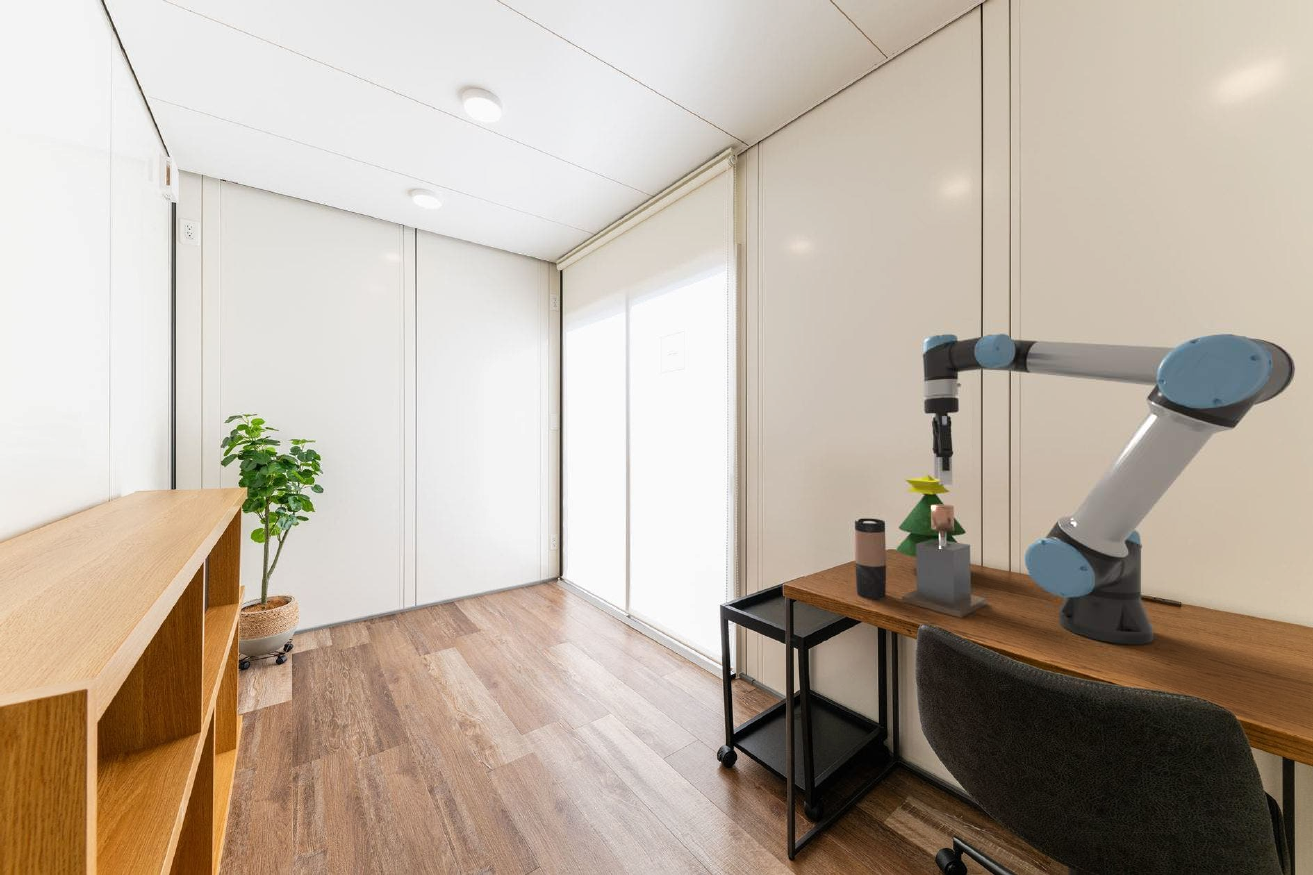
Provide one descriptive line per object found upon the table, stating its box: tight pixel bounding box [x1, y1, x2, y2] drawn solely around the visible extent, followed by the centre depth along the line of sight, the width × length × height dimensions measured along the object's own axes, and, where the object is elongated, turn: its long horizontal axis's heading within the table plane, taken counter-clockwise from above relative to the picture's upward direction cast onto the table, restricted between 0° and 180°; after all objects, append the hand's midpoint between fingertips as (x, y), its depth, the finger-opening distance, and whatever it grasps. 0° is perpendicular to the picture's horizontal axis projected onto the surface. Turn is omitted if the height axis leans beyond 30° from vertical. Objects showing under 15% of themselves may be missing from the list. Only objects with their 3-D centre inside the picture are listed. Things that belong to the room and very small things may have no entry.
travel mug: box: [854, 517, 887, 600], centre depth 133 cm, size 8×8×20 cm
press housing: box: [901, 539, 987, 619], centre depth 125 cm, size 14×14×15 cm
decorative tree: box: [896, 474, 967, 558], centre depth 152 cm, size 19×19×30 cm
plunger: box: [931, 503, 955, 546], centre depth 125 cm, size 5×5×21 cm
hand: (942, 481), depth 125 cm, fingers open, 13 cm apart
